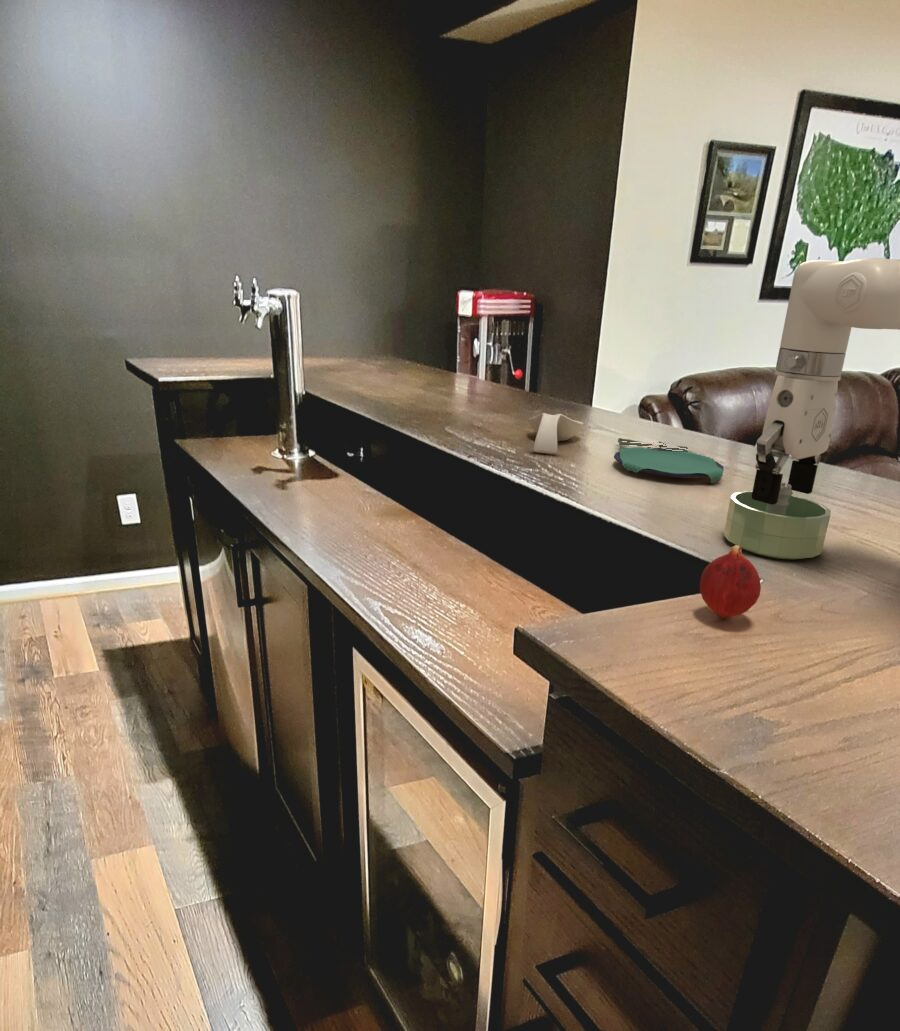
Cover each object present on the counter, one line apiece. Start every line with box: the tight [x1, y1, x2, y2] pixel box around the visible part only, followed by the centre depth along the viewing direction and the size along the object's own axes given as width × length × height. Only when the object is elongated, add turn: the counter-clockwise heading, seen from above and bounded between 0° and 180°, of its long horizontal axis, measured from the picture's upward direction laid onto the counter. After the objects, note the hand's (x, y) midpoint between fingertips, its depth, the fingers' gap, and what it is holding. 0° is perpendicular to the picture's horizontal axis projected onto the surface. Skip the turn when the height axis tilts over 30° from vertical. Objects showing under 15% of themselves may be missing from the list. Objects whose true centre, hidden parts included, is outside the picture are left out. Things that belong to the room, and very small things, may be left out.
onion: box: [699, 544, 762, 620], centre depth 74 cm, size 6×6×8 cm
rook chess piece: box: [765, 481, 794, 516], centre depth 97 cm, size 4×4×8 cm
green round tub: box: [723, 490, 831, 560], centre depth 97 cm, size 12×12×6 cm
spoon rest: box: [528, 412, 584, 455], centre depth 152 cm, size 24×12×7 cm, turn 167°
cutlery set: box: [613, 437, 725, 485], centre depth 140 cm, size 20×30×2 cm, turn 170°
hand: (781, 496), depth 96 cm, fingers open, 9 cm apart
